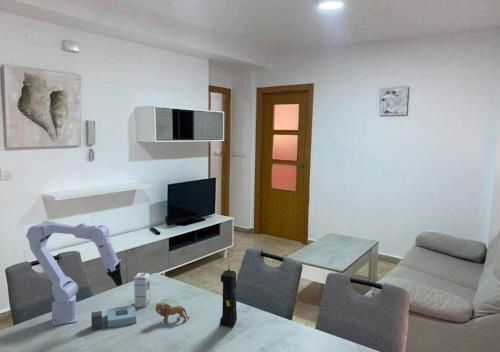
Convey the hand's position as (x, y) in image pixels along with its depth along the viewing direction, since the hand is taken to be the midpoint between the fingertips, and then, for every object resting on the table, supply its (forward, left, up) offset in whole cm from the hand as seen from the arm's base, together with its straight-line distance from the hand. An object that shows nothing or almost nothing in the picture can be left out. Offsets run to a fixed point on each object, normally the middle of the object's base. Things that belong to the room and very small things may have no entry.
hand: (119, 283), depth 163 cm
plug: (-9, -2, -18) cm, 20 cm away
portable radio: (+44, -17, -18) cm, 50 cm away
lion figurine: (+21, -7, -18) cm, 28 cm away
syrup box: (+11, +14, -18) cm, 25 cm away
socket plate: (+1, +2, -18) cm, 18 cm away
